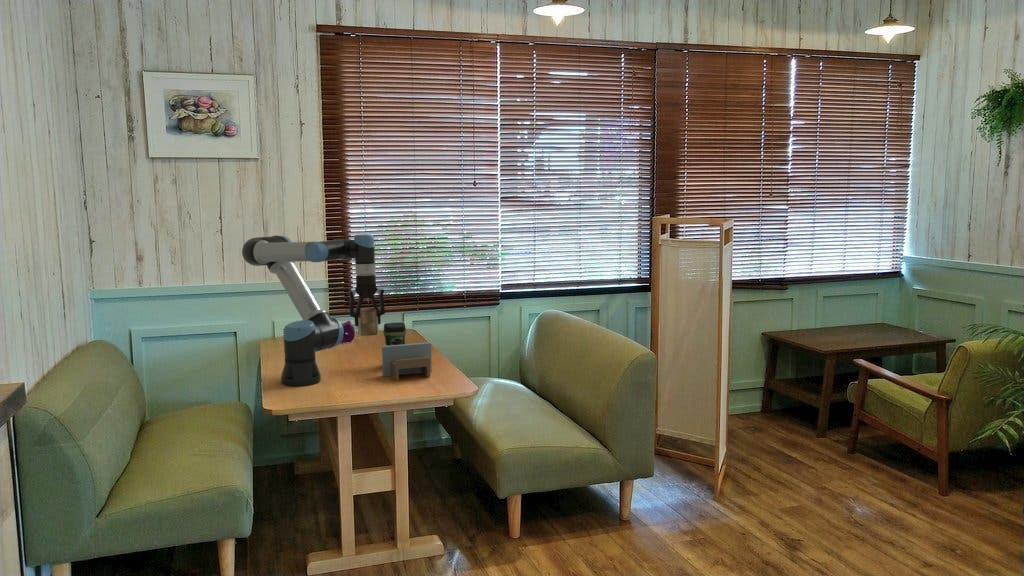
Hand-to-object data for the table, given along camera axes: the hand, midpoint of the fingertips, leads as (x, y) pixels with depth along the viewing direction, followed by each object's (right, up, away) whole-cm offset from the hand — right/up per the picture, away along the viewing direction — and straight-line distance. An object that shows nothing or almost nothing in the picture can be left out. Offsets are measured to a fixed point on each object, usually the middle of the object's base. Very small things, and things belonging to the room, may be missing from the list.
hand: (368, 333), depth 305 cm
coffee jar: (+6, -16, +30) cm, 34 cm away
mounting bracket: (-31, -9, +81) cm, 87 cm away
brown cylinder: (0, 0, 0) cm, 0 cm away
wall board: (+15, -18, +12) cm, 26 cm away
